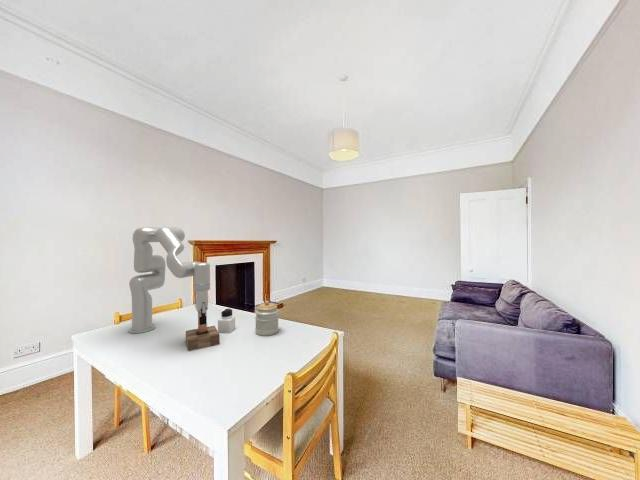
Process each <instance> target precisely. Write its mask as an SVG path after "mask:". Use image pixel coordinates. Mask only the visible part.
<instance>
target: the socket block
mask: <svg viewBox="0 0 640 480" xmlns="http://www.w3.org/2000/svg"><path fill="white" fill-rule="evenodd" d="M220 340H221V339H220V332H218V328H217V327H216V326H215V325H211V326H207V331H205V332H198V328H193V329H188V330H185V344H186V348H187V351H188V352H191V351H194V350H195V351H196V350H200V349H203V348H208V347H213V346H217V345H220V344H221V343H220Z"/></svg>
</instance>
